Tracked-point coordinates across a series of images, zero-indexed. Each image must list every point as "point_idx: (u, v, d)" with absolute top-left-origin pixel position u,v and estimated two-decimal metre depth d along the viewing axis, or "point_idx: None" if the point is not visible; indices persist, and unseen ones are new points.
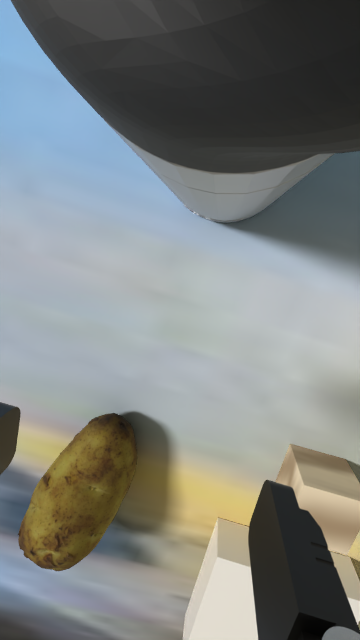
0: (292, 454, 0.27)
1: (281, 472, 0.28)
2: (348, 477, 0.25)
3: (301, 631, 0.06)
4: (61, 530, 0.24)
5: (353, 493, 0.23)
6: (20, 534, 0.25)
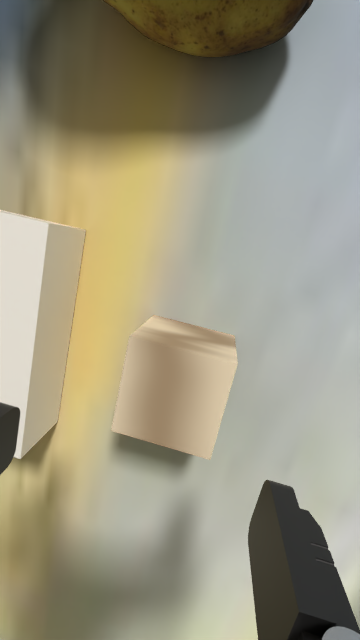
0: (232, 340, 0.17)
1: (187, 325, 0.18)
2: None
3: (301, 631, 0.06)
4: None
5: None
6: None
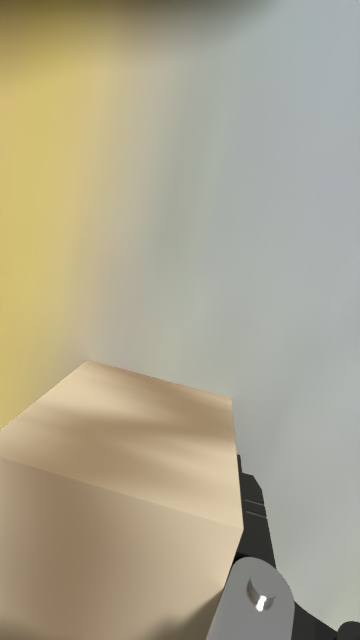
0: (227, 418, 0.09)
1: (145, 382, 0.10)
2: None
3: None
4: None
5: None
6: None
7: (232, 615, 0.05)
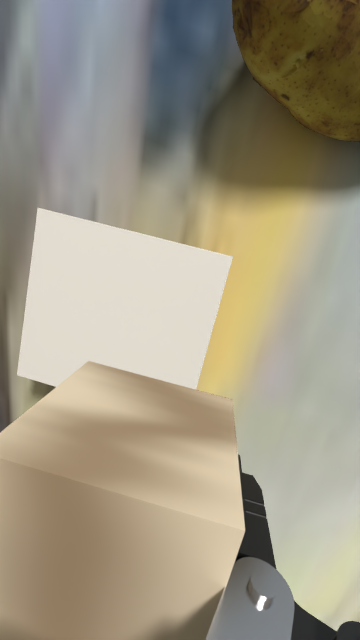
0: (228, 418, 0.09)
1: (146, 383, 0.10)
2: None
3: None
4: None
5: None
6: None
7: (232, 615, 0.05)
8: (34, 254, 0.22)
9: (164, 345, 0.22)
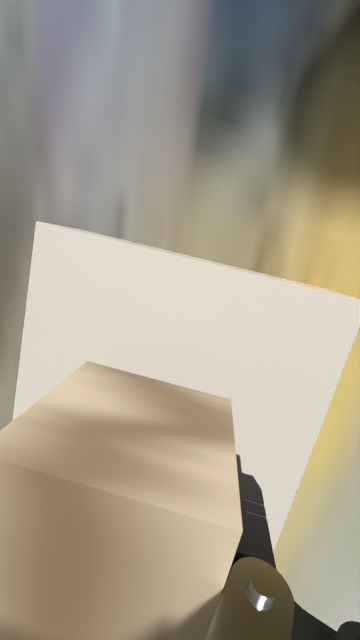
0: (227, 419, 0.09)
1: (145, 384, 0.10)
2: None
3: None
4: None
5: None
6: None
7: (232, 615, 0.05)
8: (31, 296, 0.14)
9: (242, 439, 0.14)
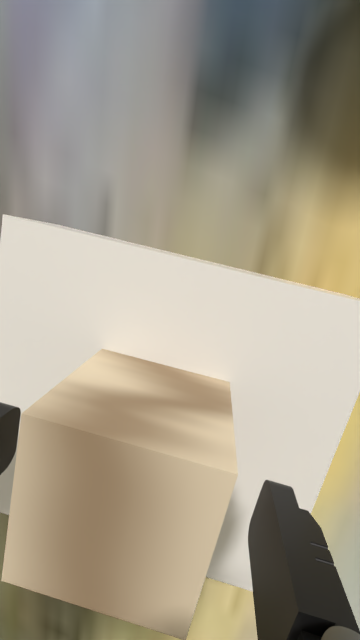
0: (226, 396, 0.10)
1: (154, 368, 0.11)
2: None
3: (301, 631, 0.06)
4: None
5: None
6: None
7: None
8: None
9: (243, 466, 0.12)
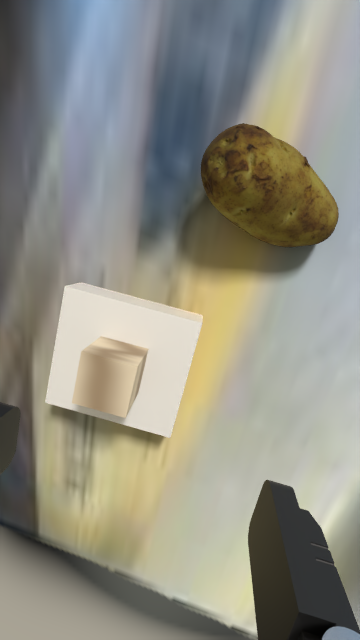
0: (144, 352, 0.30)
1: (120, 343, 0.31)
2: (133, 398, 0.30)
3: (301, 631, 0.06)
4: (272, 182, 0.24)
5: (129, 403, 0.28)
6: (259, 129, 0.23)
7: None
8: (61, 317, 0.31)
9: (155, 381, 0.32)
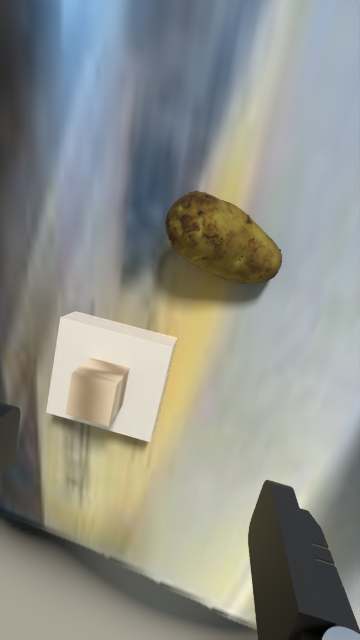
0: (125, 371, 0.36)
1: (106, 363, 0.37)
2: (117, 409, 0.36)
3: (301, 631, 0.06)
4: (220, 238, 0.30)
5: (112, 414, 0.34)
6: (208, 198, 0.30)
7: None
8: (58, 342, 0.38)
9: (136, 395, 0.38)
